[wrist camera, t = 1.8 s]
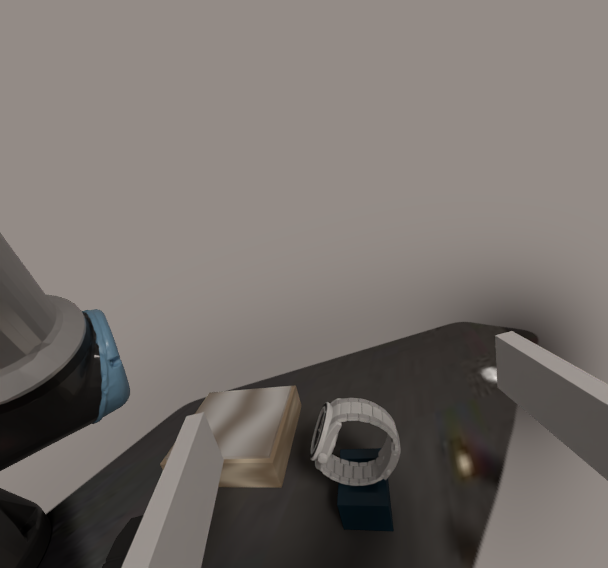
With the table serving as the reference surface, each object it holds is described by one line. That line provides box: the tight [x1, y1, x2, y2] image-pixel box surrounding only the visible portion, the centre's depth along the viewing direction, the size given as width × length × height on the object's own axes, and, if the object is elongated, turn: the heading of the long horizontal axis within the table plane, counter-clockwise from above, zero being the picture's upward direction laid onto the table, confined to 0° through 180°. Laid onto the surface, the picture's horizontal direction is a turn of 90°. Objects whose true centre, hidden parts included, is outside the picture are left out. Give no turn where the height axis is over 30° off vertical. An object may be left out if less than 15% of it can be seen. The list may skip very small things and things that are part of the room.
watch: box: [310, 398, 400, 531], centre depth 26 cm, size 6×8×11 cm
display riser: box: [160, 386, 301, 487], centre depth 37 cm, size 14×12×4 cm
